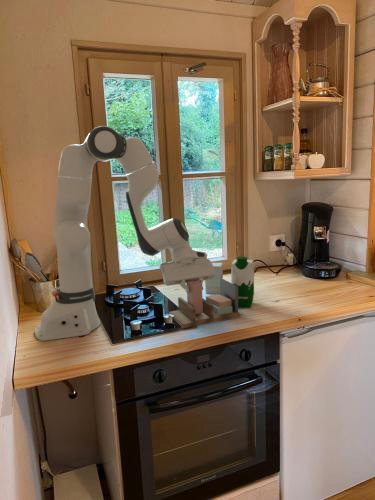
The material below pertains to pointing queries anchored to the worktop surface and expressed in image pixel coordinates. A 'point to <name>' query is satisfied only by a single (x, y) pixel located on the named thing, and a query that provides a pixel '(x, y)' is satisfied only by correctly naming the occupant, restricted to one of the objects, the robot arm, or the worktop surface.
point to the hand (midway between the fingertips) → (195, 291)
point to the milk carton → (243, 280)
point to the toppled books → (220, 304)
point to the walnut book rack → (190, 319)
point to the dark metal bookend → (230, 293)
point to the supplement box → (214, 280)
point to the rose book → (195, 296)
